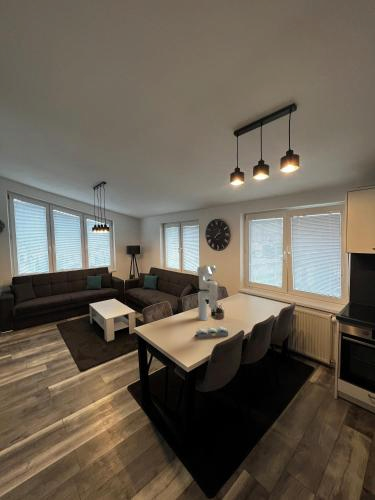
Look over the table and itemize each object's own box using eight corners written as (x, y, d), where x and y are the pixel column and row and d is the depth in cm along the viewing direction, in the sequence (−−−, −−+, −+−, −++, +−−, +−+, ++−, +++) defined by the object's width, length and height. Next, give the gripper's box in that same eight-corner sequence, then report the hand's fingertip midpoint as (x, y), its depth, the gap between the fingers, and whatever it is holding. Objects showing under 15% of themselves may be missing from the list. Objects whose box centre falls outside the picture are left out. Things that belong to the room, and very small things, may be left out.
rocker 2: (207, 328, 191) (208, 326, 191) (215, 330, 193) (215, 329, 193) (209, 330, 187) (210, 328, 187) (217, 332, 189) (217, 330, 189)
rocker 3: (217, 327, 193) (217, 325, 193) (224, 329, 195) (225, 328, 195) (219, 329, 189) (219, 327, 190) (226, 331, 191) (227, 329, 192)
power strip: (193, 335, 190) (193, 330, 190) (224, 332, 198) (225, 327, 198) (195, 339, 184) (196, 333, 183) (228, 335, 191) (228, 330, 191)
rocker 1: (198, 329, 189) (198, 327, 189) (205, 331, 191) (206, 330, 191) (199, 331, 185) (200, 329, 185) (207, 333, 187) (207, 331, 187)
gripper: (206, 294, 195) (206, 313, 196) (212, 298, 181) (212, 319, 181) (214, 294, 197) (213, 312, 198) (220, 298, 182) (220, 318, 183)
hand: (212, 315), depth 190 cm, fingers closed
